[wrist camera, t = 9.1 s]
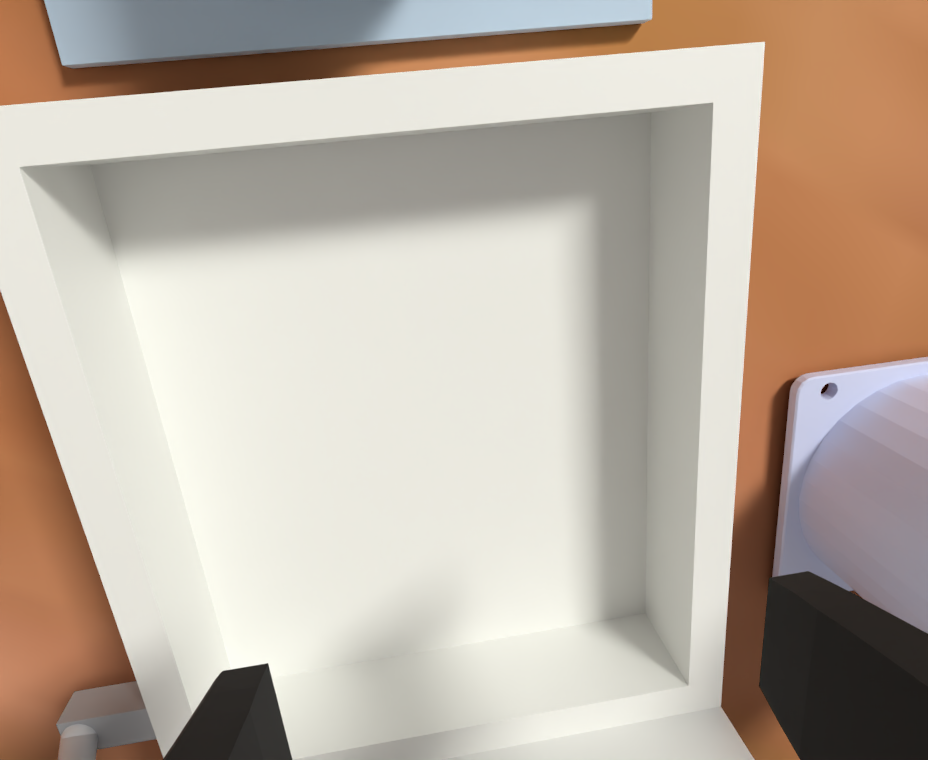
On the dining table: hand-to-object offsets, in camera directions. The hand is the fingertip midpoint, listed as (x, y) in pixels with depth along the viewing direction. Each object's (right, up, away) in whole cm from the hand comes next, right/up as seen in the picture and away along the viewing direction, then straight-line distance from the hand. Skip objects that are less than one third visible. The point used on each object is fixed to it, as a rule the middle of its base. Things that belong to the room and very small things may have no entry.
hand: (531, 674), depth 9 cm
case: (-3, +2, +9) cm, 10 cm away
